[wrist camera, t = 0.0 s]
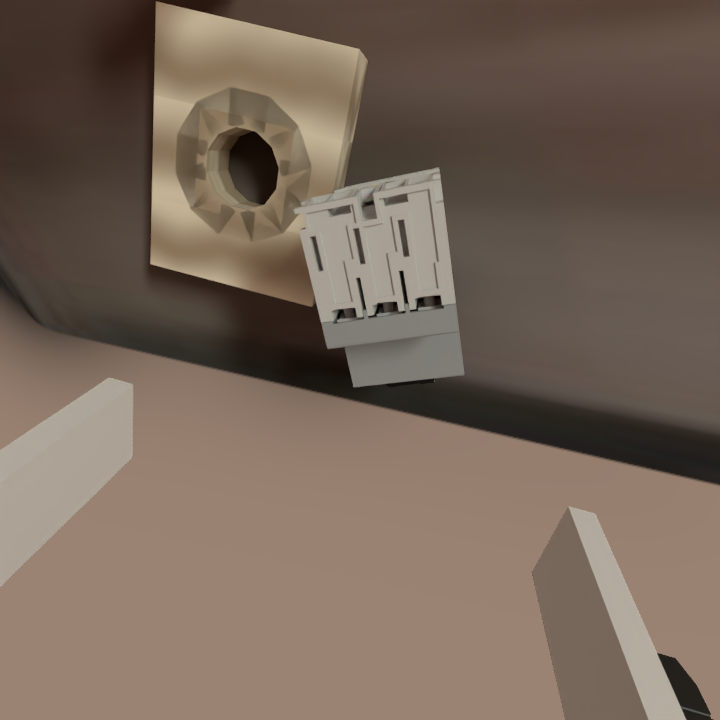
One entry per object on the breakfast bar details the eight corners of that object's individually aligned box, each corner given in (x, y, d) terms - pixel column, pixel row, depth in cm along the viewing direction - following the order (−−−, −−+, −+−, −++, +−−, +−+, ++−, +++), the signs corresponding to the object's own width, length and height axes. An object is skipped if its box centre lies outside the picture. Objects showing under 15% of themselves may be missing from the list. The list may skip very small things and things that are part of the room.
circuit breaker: (377, 348, 42) (349, 438, 29) (345, 186, 37) (292, 203, 23) (459, 338, 41) (471, 428, 27) (438, 167, 35) (439, 173, 22)
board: (185, 18, 34) (155, 1, 30) (367, 61, 33) (359, 49, 30) (175, 254, 42) (150, 264, 38) (323, 293, 41) (311, 307, 37)
